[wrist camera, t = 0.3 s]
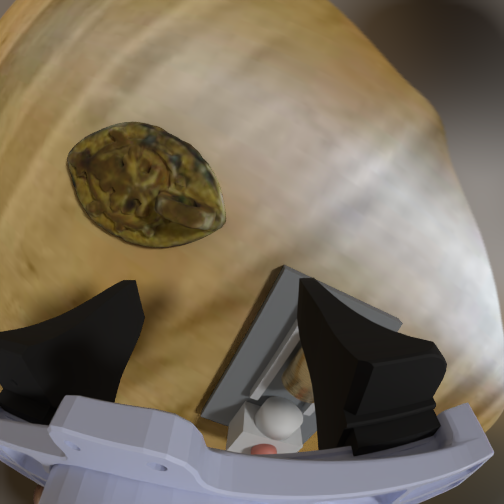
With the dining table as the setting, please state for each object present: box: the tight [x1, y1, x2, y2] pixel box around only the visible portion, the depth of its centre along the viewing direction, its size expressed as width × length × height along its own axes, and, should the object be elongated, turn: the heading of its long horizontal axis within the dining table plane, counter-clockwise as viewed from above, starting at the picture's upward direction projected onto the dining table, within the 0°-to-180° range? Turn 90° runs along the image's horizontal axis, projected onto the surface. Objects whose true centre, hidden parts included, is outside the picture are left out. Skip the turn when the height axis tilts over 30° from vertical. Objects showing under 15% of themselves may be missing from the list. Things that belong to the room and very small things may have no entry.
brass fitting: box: [281, 346, 314, 403], centre depth 22 cm, size 5×4×4 cm
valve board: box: [201, 265, 403, 455], centre depth 22 cm, size 18×12×6 cm, turn 155°
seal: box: [67, 122, 226, 248], centre depth 20 cm, size 9×5×15 cm
